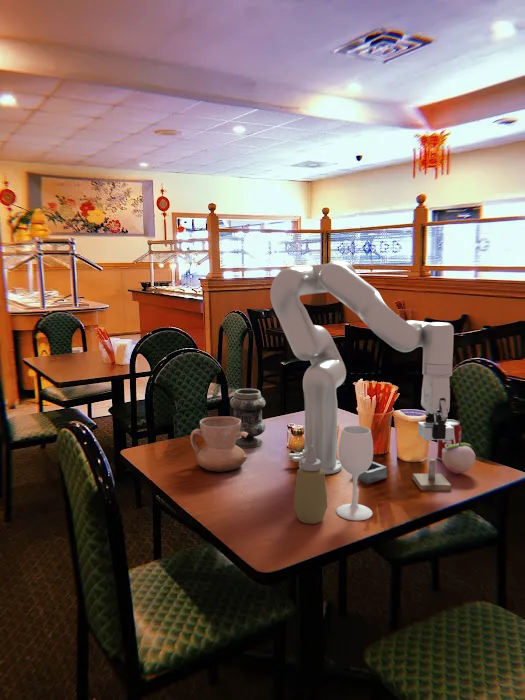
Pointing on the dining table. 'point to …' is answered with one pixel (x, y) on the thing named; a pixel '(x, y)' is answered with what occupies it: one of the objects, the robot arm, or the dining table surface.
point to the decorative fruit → (458, 457)
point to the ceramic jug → (219, 444)
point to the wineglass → (355, 466)
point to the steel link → (427, 431)
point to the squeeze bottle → (310, 489)
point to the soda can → (444, 443)
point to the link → (373, 473)
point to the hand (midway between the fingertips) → (435, 434)
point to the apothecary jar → (249, 416)
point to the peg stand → (431, 479)
